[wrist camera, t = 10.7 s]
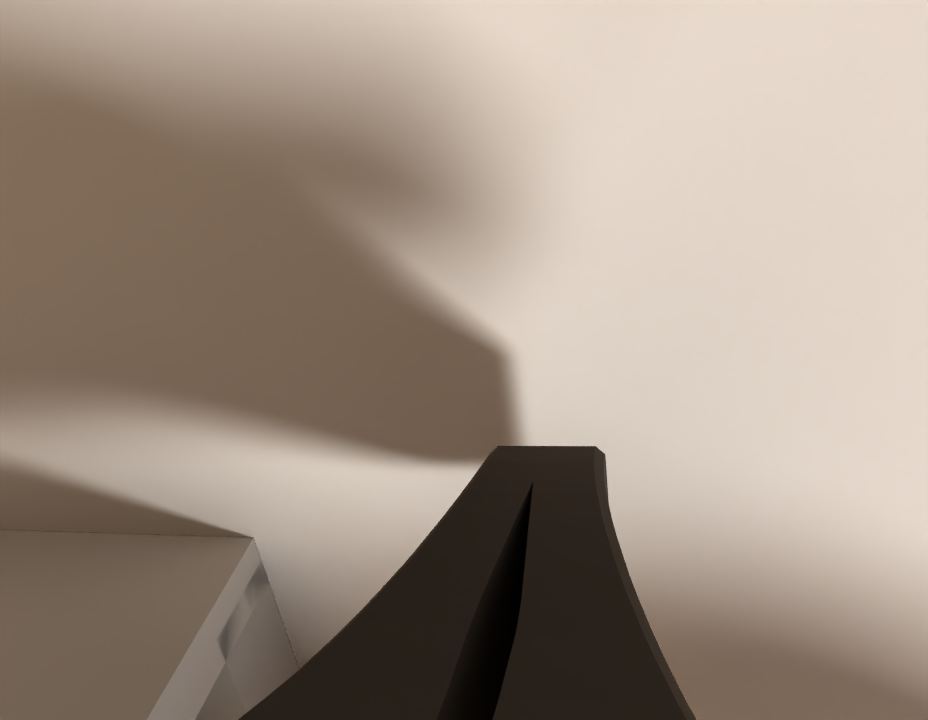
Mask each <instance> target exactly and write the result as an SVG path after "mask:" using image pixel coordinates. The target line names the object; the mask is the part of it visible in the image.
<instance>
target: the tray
mask: <svg viewBox="0 0 928 720" xmlns="http://www.w3.org/2000/svg"><path fill="white" fill-rule="evenodd" d="M298 670H299V667H298V665H297V662H296V659H295V656H294V653H293V650H292V647H291V644H290V641H289V639H288V636H287V633H286V630H285V627H284V624H283V621H282V618H281V615H280V613H279V610H278V607H277V604H276V601H275V598H274V595H273V592H272V589H271V587H270V584H269V581H268V578H267V575H266V572H265V569H264V566H263V564H262V561H261V558H260V555H259V552H258V549H257V546H256V543H255V540H254V538H243V537H211V536H179V535H148V534H116V533H84V532H53V531H21V530H0V720H238V719H239V718H241V717H242V716H243V715H244V714H246V713H247V712H248V711H249V710H251V709H252V708H253V707H254V706H256V705H257V704H258V703H259V702H261V701H262V700H263V699H265V698H266V697H267V696H268V695H269V694H271V693H272V692H273V691H274V690H275V689H277V688H278V687H279V686H280V685H281V684H283V683H284V682H285V681H286V680H287V679H289V678H290V677H291V676H292V675H293V674H295V673H296V672H297V671H298Z"/></svg>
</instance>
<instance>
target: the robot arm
mask: <svg viewBox="0 0 928 720" xmlns="http://www.w3.org/2000/svg"><path fill="white" fill-rule="evenodd" d="M238 720H696V719H695V717H694V715H693V713H692V711H691V710H690V708H689V706H688V704H687V702H686V700H685V698H684V696H683V694H682V692H681V690H680V689H679V687H678V685H677V683H676V681H675V679H674V677H673V675H672V673H671V671H670V669H669V667H668V665H667V663H666V661H665V658H664V656H663V654H662V652H661V650H660V648H659V646H658V643H657V641H656V639H655V637H654V635H653V632H652V630H651V628H650V625H649V623H648V621H647V618H646V616H645V613H644V611H643V609H642V606H641V604H640V602H639V599H638V597H637V594H636V591H635V589H634V586H633V583H632V581H631V578H630V576H629V573H628V570H627V566H626V563H625V560H624V557H623V554H622V551H621V548H620V545H619V542H618V539H617V536H616V533H615V529H614V525H613V522H612V518H611V513H610V509H609V503H608V488H607V474H606V459H605V454H604V453H603V452H602V451H600V450H599V449H598V448H597V447H596V446H498V447H497V448H495V449H494V450H493V451H492V452H491V453H490V454H489V456H488V457H487V459H486V460H485V461H484V463H483V464H482V466H481V467H480V468H479V470H478V471H477V473H476V474H475V475H474V477H473V478H472V479H471V481H470V482H469V484H468V485H467V486H466V488H465V489H464V490H463V492H462V493H461V494H460V496H459V497H458V498H457V499H456V501H455V502H454V503H453V505H452V506H451V507H450V509H449V510H448V511H447V512H446V514H445V515H444V516H443V518H442V519H441V520H440V521H439V522H438V524H437V525H436V526H435V527H434V529H433V530H432V531H431V532H430V533H429V535H428V536H427V537H426V538H425V540H424V541H423V542H422V543H421V544H420V546H419V547H418V548H417V549H416V550H415V552H414V553H413V554H412V555H411V556H410V558H409V559H408V560H407V561H406V562H405V563H404V565H403V566H402V567H401V568H400V569H399V570H398V571H397V572H396V573H395V574H394V575H393V577H392V578H391V579H390V580H389V581H388V582H387V583H386V584H385V585H384V586H383V587H382V589H381V590H380V591H379V592H378V593H377V594H376V595H375V596H374V597H373V598H372V599H371V600H370V602H369V603H368V604H367V605H366V606H365V607H364V608H363V609H362V610H361V611H360V612H359V613H358V614H357V615H356V616H355V617H354V618H353V619H352V620H351V621H350V622H349V623H348V624H347V625H346V626H345V627H344V628H343V629H342V630H341V631H340V632H339V633H338V634H337V635H336V636H335V637H334V638H333V639H332V640H331V641H330V642H329V643H328V644H327V645H325V646H324V647H323V648H322V649H321V650H320V651H319V652H318V653H317V654H316V655H314V656H313V657H312V658H311V659H310V660H309V661H308V662H307V663H306V664H305V665H304V666H302V667H301V668H300V669H299V670H298V671H297V672H296V673H295V674H293V675H292V676H291V677H290V678H289V679H287V680H286V681H285V682H284V683H283V684H281V685H280V686H279V687H278V688H277V689H275V690H274V691H273V692H272V693H271V694H269V695H268V696H267V697H266V698H265V699H263V700H262V701H261V702H259V703H258V704H257V705H256V706H254V707H253V708H252V709H251V710H249V711H248V712H247V713H246V714H244V715H243V716H242V717H241V718H239V719H238Z"/></svg>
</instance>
